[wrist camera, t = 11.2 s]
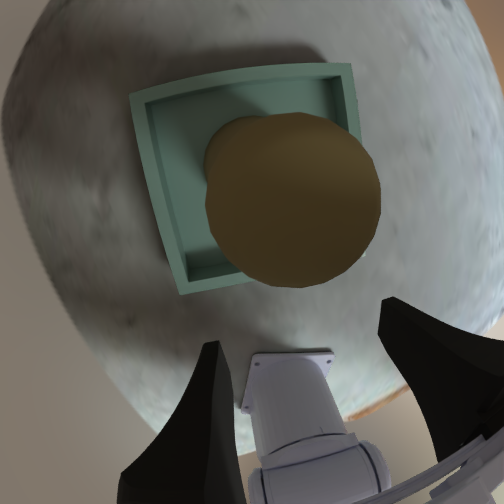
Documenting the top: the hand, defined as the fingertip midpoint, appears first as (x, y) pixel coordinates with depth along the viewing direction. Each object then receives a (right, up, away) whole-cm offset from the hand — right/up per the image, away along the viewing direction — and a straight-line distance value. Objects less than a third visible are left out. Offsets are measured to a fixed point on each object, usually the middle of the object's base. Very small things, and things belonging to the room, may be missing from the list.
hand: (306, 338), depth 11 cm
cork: (-2, +9, +5) cm, 11 cm away
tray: (-2, +9, +6) cm, 11 cm away
